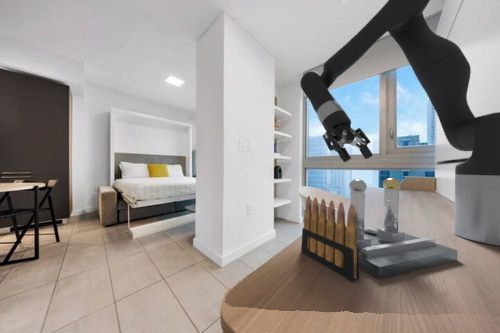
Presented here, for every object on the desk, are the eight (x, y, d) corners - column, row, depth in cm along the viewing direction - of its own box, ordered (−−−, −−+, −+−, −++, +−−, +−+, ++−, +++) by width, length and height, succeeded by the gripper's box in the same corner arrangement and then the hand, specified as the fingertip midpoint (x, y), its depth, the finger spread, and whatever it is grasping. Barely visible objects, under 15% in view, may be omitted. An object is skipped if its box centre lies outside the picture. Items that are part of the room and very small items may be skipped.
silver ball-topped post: (341, 234, 40) (343, 177, 40) (370, 248, 33) (372, 179, 33) (328, 236, 38) (329, 177, 38) (355, 251, 32) (357, 179, 32)
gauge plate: (386, 234, 46) (387, 223, 46) (457, 260, 33) (457, 244, 33) (321, 243, 39) (321, 230, 39) (378, 279, 27) (379, 259, 27)
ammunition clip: (300, 251, 35) (302, 195, 35) (306, 249, 36) (308, 194, 36) (353, 282, 26) (354, 206, 26) (359, 279, 27) (361, 205, 27)
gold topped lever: (372, 229, 43) (373, 176, 43) (404, 241, 36) (405, 178, 36) (360, 230, 41) (361, 176, 41) (391, 243, 35) (393, 178, 35)
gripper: (322, 109, 50) (350, 154, 43) (357, 108, 54) (387, 149, 47) (309, 126, 56) (331, 168, 49) (341, 124, 60) (366, 162, 53)
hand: (359, 159), depth 48 cm, fingers open, 8 cm apart
